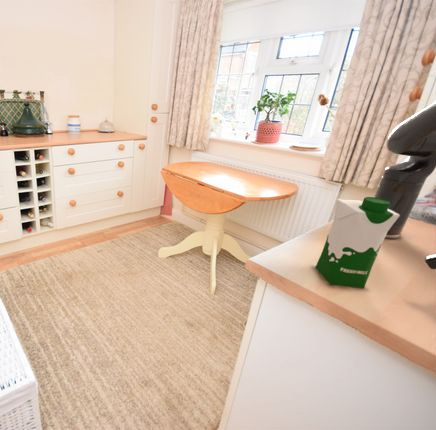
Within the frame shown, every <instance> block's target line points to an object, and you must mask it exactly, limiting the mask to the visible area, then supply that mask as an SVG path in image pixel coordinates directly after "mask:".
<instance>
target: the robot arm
mask: <svg viewBox="0 0 436 430" xmlns="http://www.w3.org/2000/svg"><path fill="white" fill-rule="evenodd" d="M386 149H387V150H388V151H389V153H391V154H393V155H397V156H404V157H406V159H405V160H403V161H401V162H399V163H396V164H392V165H388V166H387V167H385V169H383V173H382V175H381V177H380V179H379V182H378V185H377V188H376V190H375V193H374V195H373V197H375V198H380V199H384V200H387V201H389V202H390V205H389V207H388V209H390V210H392V211H394V212H396V213H397V214H399V215H400V216H399V217H398V218H397V220H396V221H395V222H394V224H393V225H392V226H391V228H390V229H389V230H388V232H387V234H386V236H385V239H399V238H400V237H401V236H402V232H403V230H404V228H405V225H406V224H407V223H408V222H407V221H408V219H409V217H410V215H411V213H412V211H413V209H414V206H415V205H416V202H417V200H418V197H419V196H420V193H421V190H422V189H423V187H424V184H425V182H426V181H427V179H428V177H430V176H431V175H432V174H433V173H434V171H435V170H436V100H435V101H434V102H432V103H431V104H430V105H427V106H426V107H425V108H423V109H422V110H420V111H419V112H417V113H415V114H414V115H412V116H410V117H409V118H407V119H406V120H404V121H402V122H401V123H399V124H398V125H397V126H396V127H395V128H394V129H393V130H392V131H391V132H390V134H389V135H388V137H387V139H386ZM424 263H426V265H427V267H428V268H429V269H431V270H436V253H435V254H430V255H427V256H425V257H424Z"/></svg>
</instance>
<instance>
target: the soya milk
mask: <svg viewBox="0 0 436 430" xmlns="http://www.w3.org/2000/svg"><path fill="white" fill-rule="evenodd" d="M389 205H390V202H389V201H387V200H384V199H380V198H375V197H374V196H365V197H364V198H363V200H359V199H358V200H356V199H342V198H337V199H336V203H335V209H334V215H333V221H332V223H331V226H330V228H329V231H328V234H327V236H326V240H325V243H324V245H323V249H322V251H321V254H320V255H319V258H318V260H317V263H316V264H315V267H314V268H315V270H316V271H317V272H318V274H320V275H321V276H322V278H323V279H324V280H325V281H326V282H327V284H329V285H330V286H336V287H344V288H345V287H346V288H356V289H365V287H366V285H367V282H368V279H369V277H370V274H371V271H372V269H373V266H374V264H375V261H376V259H377V257H378V255H379V252H380V250H381V248H382V245H383V243H384V241H385V239H386V238H385V236H386V234H387V232H388V230H389V229H390V228H391V226H392V225H393V224H394V222H395V221H396V220H397V218H398V217H399V216H400V215H399V214H397V213H396V212H394V211H392V210H390V209H388V207H389Z"/></svg>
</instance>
